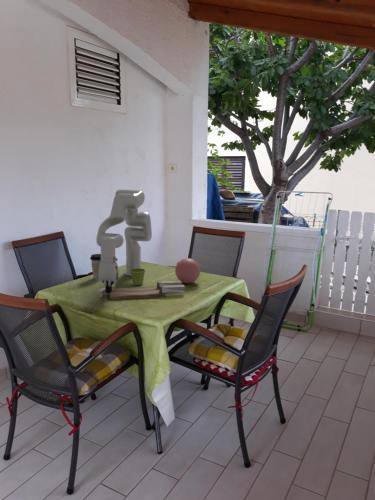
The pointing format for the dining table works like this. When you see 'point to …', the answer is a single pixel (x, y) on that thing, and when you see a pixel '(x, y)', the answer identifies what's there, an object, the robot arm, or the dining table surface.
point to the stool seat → (147, 291)
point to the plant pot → (137, 276)
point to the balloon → (187, 270)
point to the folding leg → (102, 291)
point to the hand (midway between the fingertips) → (108, 292)
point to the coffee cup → (95, 265)
